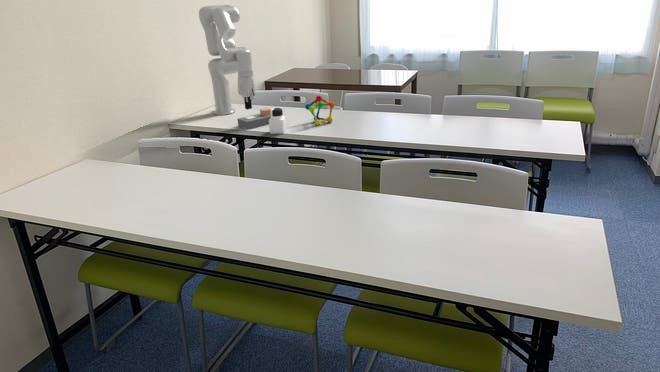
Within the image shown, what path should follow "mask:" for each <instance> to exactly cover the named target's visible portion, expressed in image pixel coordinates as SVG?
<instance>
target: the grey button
mask: <svg viewBox="0 0 660 372" xmlns="http://www.w3.org/2000/svg"><path fill="white" fill-rule="evenodd" d="M248 116H249V117H247V116H244V117H245V119H247V120H252V119H256V117H254V116H251V115H248Z"/></svg>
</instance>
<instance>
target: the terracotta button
mask: <svg viewBox="0 0 660 372" xmlns="http://www.w3.org/2000/svg"><path fill="white" fill-rule="evenodd" d="M271 109H272V108H268V107H265V108H260V109H259V114H260V115H262V116H269V115H271V114H270V110H271Z"/></svg>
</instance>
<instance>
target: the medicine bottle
mask: <svg viewBox="0 0 660 372" xmlns="http://www.w3.org/2000/svg"><path fill="white" fill-rule="evenodd" d="M270 109H271V110H270V114H271V118H270V119H269V124H268V125H269V126H268V127H269V129H268V130H269V134H272V135H274V134H277V135H278V134H280V135H281V134H284V133H286V131H287V123H286V116H284V113H283V109H282V108H281V107H273V108H270Z"/></svg>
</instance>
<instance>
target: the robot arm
mask: <svg viewBox="0 0 660 372" xmlns="http://www.w3.org/2000/svg"><path fill="white" fill-rule="evenodd" d="M240 15H241V14H240V12H239V9H238V8H237V7H236V6H233V5H231V4H217V5H215V4H214V5H204V6H201V7H200V8H199V10H198V19H199V22H200V24H201V26H202V28H203V31H204V35H205V41H206V46H207V51H208V54H209V55H210V56H212V57H217V58H212V59H211V60H209V62H208V64H207V66H208V71H209V75H210V78H211V83H212V90H213V97H214V98H213V99H214V108H215V110H214V111H213V114H214V115H216V116H224V115H225V116H226V115H231V114H234V113H235V112H236V109H235V108H233V105H232V97H231V90H230V89H231V87H230V82H229V80H228V79H227V78H226V77H225V76H226V75H230V74H231V75H232V74H236V73H237V93H238V95H239V96H241V97H242V98H243V102H244V109H245V110H247V111H248V110H251V109H253V105H252V101H253V100H254V99H255V96H256V90H255V89H256V88H255V83H254V82H255V81H254V78H253V77H254V74H253V63H252V62H253V61H252V51H251V50H250V49H248V48H246V47H245V46H236V42H235V40H234V39H233V37H234V36H235V35H236V32H237V30H236V27H235V26H234V24H236V23H238V22H239V21H240V18H241V16H240ZM219 56H220V57H219ZM218 57H219V58H218Z"/></svg>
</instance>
